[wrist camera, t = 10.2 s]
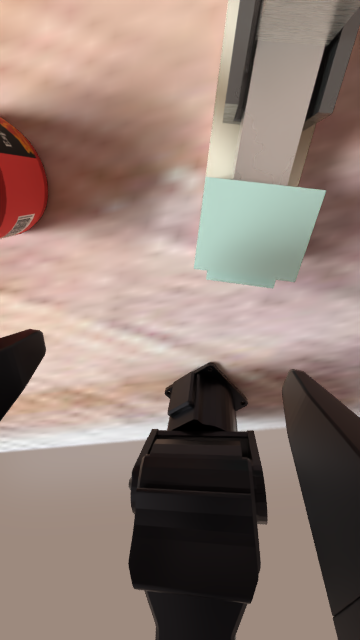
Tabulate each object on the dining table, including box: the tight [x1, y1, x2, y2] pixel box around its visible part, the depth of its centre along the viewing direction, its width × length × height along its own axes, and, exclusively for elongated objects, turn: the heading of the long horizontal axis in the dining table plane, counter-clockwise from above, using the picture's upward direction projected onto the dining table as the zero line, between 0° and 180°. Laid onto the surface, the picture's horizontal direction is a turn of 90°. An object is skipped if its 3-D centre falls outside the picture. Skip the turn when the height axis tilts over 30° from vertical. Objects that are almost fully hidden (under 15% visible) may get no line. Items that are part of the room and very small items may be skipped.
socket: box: [194, 177, 326, 288], centre depth 15 cm, size 5×6×5 cm
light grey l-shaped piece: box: [231, 0, 360, 186], centre depth 10 cm, size 12×3×11 cm, turn 174°
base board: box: [195, 0, 316, 256], centre depth 15 cm, size 19×6×1 cm, turn 174°
